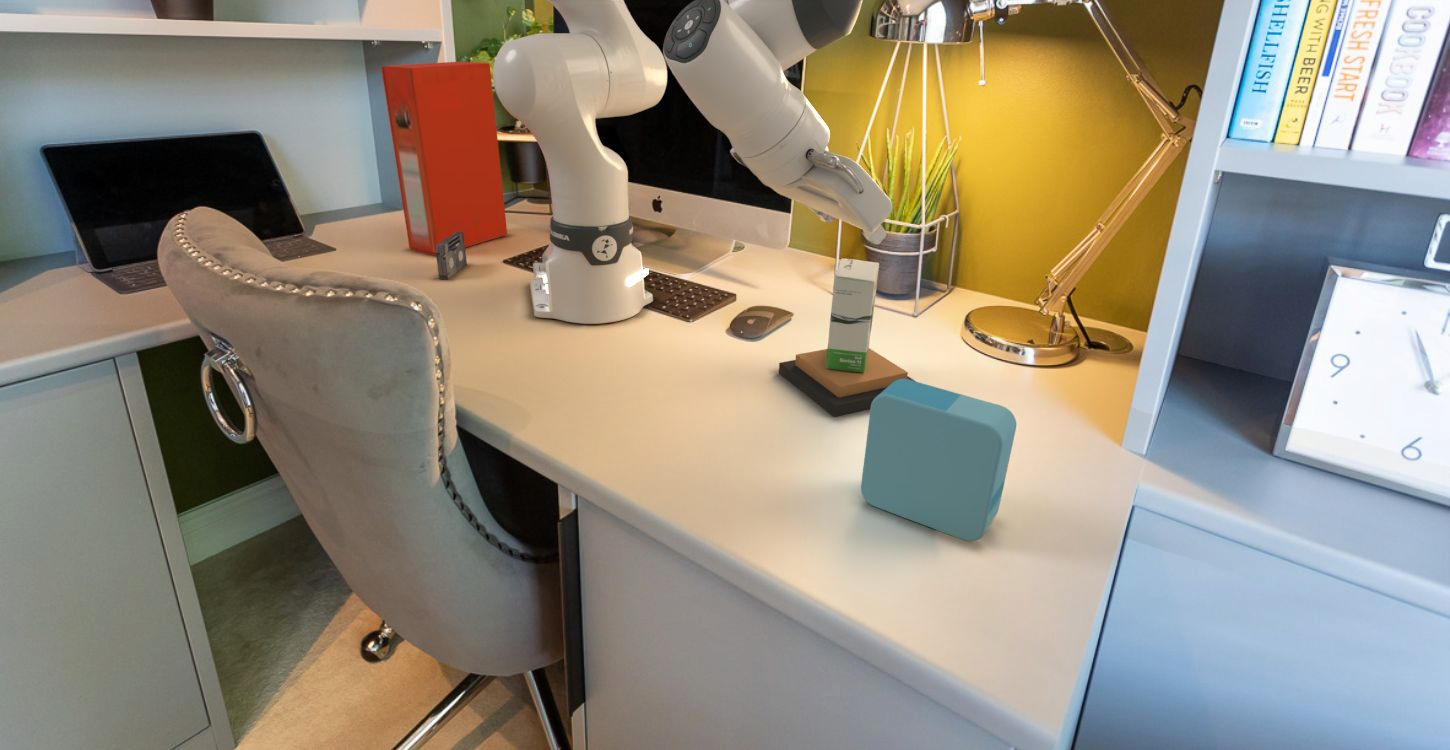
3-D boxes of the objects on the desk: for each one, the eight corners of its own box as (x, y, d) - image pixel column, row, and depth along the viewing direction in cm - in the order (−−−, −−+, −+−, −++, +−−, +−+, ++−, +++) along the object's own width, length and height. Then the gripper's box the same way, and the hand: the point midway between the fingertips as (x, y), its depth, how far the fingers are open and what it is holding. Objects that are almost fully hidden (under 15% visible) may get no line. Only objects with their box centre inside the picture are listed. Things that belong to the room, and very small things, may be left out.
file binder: (408, 249, 146) (380, 65, 132) (478, 229, 159) (459, 60, 146) (439, 256, 142) (413, 68, 129) (507, 235, 156) (491, 63, 142)
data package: (996, 523, 73) (1020, 409, 68) (980, 547, 70) (1005, 430, 65) (877, 480, 79) (891, 373, 74) (858, 501, 76) (871, 390, 70)
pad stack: (778, 373, 102) (779, 351, 100) (860, 357, 107) (863, 336, 106) (834, 417, 91) (836, 394, 90) (922, 397, 96) (925, 375, 95)
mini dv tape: (458, 264, 138) (454, 231, 136) (466, 265, 138) (463, 231, 136) (439, 279, 131) (434, 244, 129) (448, 279, 131) (443, 244, 128)
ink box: (865, 374, 95) (875, 281, 90) (824, 369, 96) (832, 276, 91) (870, 347, 102) (880, 259, 97) (832, 342, 103) (840, 255, 98)
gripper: (864, 136, 73) (931, 229, 81) (759, 108, 89) (823, 188, 98) (820, 187, 73) (891, 275, 81) (723, 150, 89) (790, 227, 98)
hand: (853, 227), depth 90 cm, fingers open, 8 cm apart
